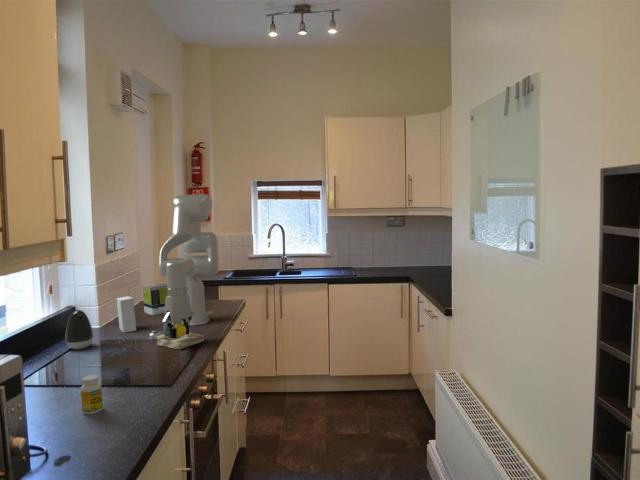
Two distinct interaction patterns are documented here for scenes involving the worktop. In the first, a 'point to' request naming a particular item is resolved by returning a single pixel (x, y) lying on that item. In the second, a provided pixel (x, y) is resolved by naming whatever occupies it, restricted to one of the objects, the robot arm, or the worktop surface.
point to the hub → (154, 334)
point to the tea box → (155, 298)
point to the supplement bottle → (91, 395)
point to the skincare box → (126, 314)
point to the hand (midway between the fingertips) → (179, 335)
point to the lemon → (180, 330)
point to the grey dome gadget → (78, 331)
